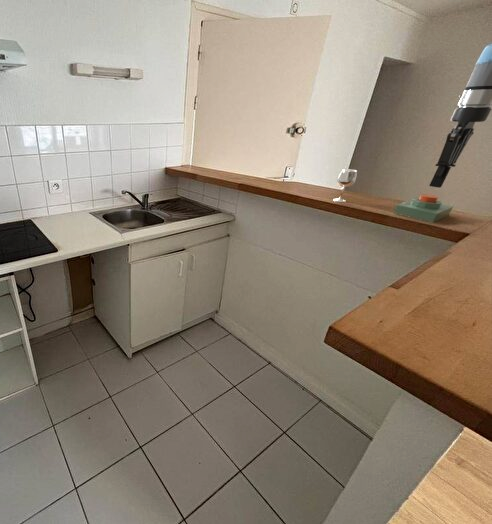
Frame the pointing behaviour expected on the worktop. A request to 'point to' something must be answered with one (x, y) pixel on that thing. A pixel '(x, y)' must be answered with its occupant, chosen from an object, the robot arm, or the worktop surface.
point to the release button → (428, 198)
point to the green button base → (423, 210)
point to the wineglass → (346, 181)
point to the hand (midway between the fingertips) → (435, 186)
